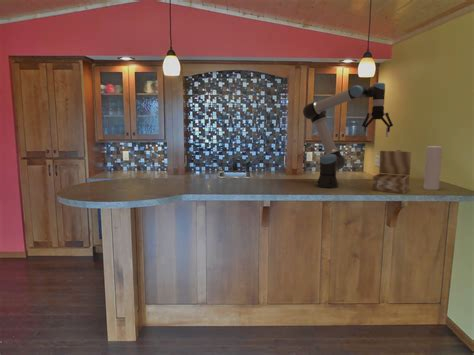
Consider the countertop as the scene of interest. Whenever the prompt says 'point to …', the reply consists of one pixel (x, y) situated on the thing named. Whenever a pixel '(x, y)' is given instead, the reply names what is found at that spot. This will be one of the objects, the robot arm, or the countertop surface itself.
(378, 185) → the brown wooden box
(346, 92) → the robot arm
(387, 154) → the wooden lid with knob
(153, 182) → the countertop surface
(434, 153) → the cylinder container
